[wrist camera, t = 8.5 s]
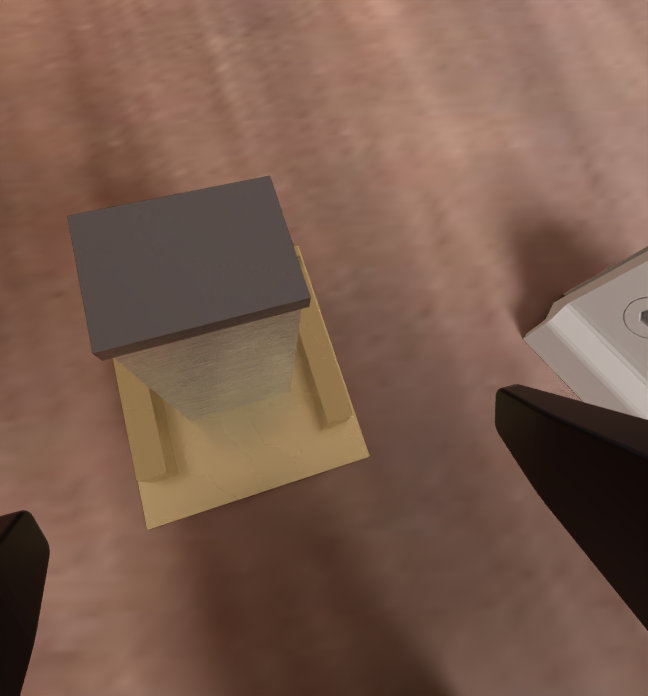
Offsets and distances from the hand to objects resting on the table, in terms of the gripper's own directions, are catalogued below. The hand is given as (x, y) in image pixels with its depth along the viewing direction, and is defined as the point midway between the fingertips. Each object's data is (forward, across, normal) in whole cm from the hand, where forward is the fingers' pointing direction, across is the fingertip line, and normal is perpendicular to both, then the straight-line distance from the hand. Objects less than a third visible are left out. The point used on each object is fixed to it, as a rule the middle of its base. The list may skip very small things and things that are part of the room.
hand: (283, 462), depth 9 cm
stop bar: (+14, +2, +5) cm, 14 cm away
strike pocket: (+14, +2, +5) cm, 15 cm away
